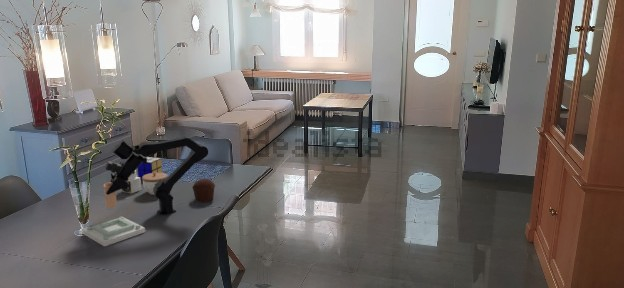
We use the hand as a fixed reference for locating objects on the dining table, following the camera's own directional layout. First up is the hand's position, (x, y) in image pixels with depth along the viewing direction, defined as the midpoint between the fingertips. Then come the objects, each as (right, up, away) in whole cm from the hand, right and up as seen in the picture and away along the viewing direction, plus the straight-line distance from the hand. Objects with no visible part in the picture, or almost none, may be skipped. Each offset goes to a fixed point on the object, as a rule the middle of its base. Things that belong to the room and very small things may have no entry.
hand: (106, 192), depth 209 cm
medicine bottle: (-5, -4, +43) cm, 43 cm away
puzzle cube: (-4, +3, +69) cm, 69 cm away
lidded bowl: (+8, -4, +41) cm, 42 cm away
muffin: (+36, -7, +32) cm, 49 cm away
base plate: (+7, -16, -9) cm, 20 cm away
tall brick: (+1, -6, +2) cm, 7 cm away
